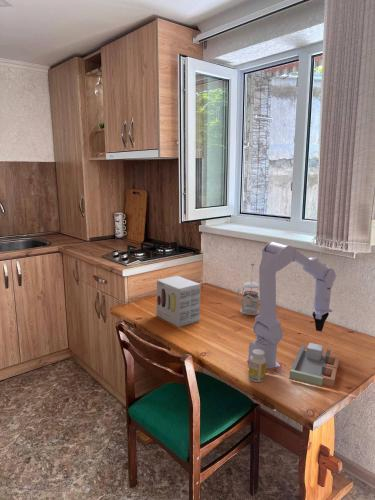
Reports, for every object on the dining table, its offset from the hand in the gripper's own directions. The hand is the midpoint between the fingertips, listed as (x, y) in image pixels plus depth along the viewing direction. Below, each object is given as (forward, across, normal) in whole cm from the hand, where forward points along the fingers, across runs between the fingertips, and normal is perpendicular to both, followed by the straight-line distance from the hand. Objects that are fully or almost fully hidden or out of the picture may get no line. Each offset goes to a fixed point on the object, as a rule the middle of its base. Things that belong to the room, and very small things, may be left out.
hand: (319, 330), depth 146 cm
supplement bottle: (+8, -32, +15) cm, 36 cm away
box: (+8, -16, -2) cm, 18 cm away
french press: (+8, +28, +37) cm, 47 cm away
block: (+8, -8, 0) cm, 11 cm away
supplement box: (+8, +2, +63) cm, 64 cm away
